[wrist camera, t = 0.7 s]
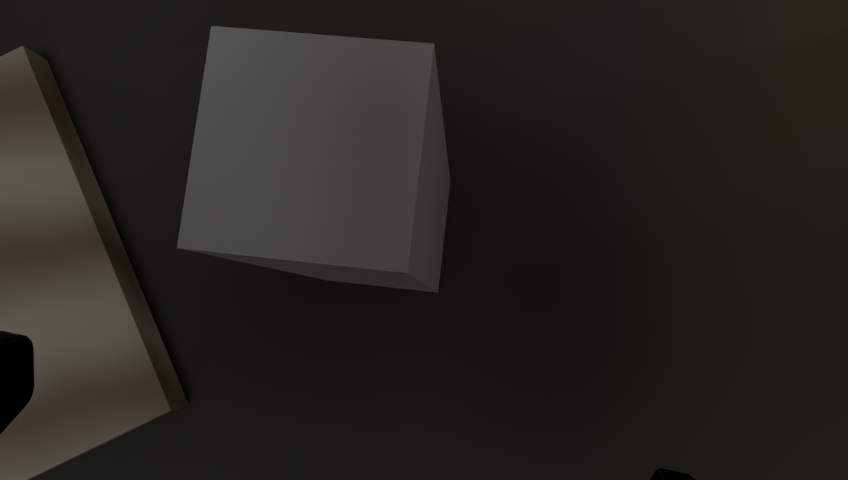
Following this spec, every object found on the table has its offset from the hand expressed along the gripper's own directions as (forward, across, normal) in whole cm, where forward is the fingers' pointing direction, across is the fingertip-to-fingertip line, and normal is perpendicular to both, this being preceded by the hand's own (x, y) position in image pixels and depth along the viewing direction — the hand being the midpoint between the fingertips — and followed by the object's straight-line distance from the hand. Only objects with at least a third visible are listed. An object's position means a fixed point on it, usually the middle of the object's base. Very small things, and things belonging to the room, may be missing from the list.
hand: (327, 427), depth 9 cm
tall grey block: (+16, +2, +2) cm, 16 cm away
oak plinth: (+14, +18, +7) cm, 24 cm away
